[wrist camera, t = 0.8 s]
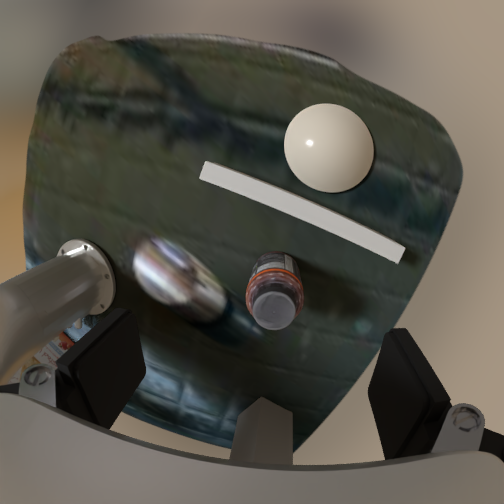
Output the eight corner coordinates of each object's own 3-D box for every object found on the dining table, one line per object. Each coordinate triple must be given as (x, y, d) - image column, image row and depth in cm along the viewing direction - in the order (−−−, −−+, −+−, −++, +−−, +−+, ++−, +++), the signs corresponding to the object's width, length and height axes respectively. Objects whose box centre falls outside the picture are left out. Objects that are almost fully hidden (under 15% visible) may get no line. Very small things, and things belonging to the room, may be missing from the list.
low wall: (383, 252, 34) (398, 263, 29) (210, 178, 34) (199, 178, 29) (390, 238, 33) (405, 248, 28) (216, 162, 33) (205, 160, 28)
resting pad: (352, 206, 33) (353, 207, 32) (270, 170, 33) (270, 170, 32) (383, 128, 30) (385, 128, 29) (303, 91, 30) (303, 89, 29)
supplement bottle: (297, 295, 37) (302, 342, 26) (252, 292, 37) (240, 338, 26) (301, 251, 35) (310, 284, 24) (253, 248, 35) (241, 280, 25)
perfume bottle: (292, 412, 42) (291, 500, 25) (268, 430, 44) (260, 511, 27) (261, 396, 42) (249, 488, 25) (238, 415, 44) (220, 499, 26)
